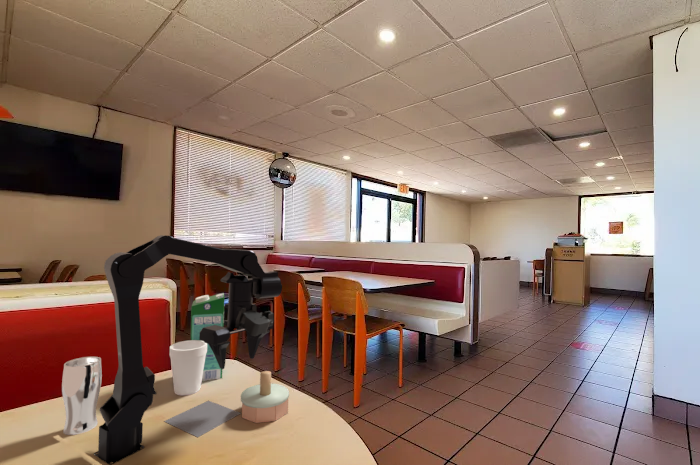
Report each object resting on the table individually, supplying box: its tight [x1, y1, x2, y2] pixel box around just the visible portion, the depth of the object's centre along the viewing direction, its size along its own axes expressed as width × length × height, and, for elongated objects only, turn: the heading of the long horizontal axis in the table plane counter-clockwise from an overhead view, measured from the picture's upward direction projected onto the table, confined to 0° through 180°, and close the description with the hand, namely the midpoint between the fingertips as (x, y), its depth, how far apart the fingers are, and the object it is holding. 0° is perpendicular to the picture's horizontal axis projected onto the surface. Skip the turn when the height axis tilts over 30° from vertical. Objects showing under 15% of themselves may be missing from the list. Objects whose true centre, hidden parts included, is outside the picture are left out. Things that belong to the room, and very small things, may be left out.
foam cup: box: [169, 339, 207, 396], centre depth 96 cm, size 10×9×13 cm
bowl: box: [241, 398, 289, 424], centre depth 86 cm, size 11×11×4 cm
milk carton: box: [190, 292, 225, 382], centre depth 107 cm, size 9×9×25 cm
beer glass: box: [61, 356, 103, 436], centre depth 77 cm, size 7×7×15 cm
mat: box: [163, 400, 242, 438], centre depth 82 cm, size 12×12×1 cm
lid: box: [240, 370, 290, 408], centre depth 86 cm, size 12×12×6 cm
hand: (237, 363), depth 86 cm, fingers open, 9 cm apart
